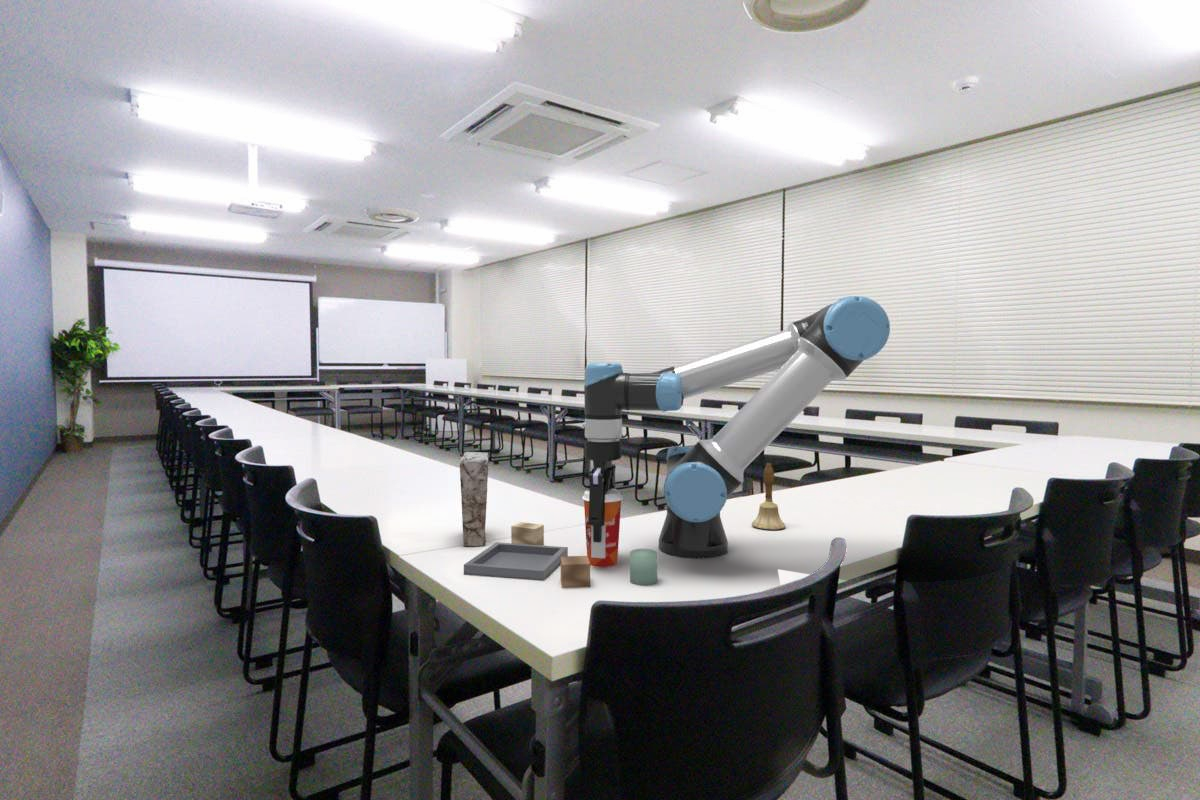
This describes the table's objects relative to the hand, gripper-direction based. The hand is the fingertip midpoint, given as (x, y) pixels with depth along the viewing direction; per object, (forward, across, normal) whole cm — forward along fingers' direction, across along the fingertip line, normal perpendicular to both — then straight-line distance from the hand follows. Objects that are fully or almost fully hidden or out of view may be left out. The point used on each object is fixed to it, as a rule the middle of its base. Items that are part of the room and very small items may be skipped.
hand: (602, 551), depth 128 cm
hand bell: (+3, -41, +34) cm, 53 cm away
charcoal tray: (+3, +6, -16) cm, 17 cm away
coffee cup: (+3, 0, 0) cm, 3 cm away
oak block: (+3, -8, -19) cm, 21 cm away
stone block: (+3, -11, -33) cm, 35 cm away
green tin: (+3, +10, +10) cm, 14 cm away
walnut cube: (+3, +14, -2) cm, 14 cm away
